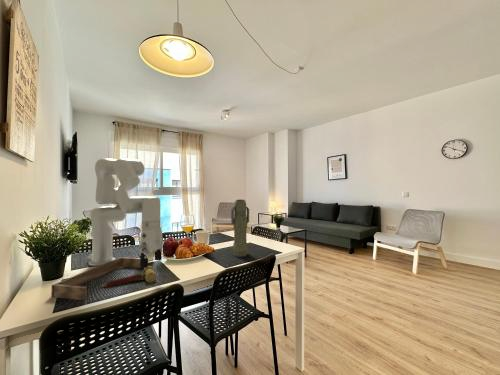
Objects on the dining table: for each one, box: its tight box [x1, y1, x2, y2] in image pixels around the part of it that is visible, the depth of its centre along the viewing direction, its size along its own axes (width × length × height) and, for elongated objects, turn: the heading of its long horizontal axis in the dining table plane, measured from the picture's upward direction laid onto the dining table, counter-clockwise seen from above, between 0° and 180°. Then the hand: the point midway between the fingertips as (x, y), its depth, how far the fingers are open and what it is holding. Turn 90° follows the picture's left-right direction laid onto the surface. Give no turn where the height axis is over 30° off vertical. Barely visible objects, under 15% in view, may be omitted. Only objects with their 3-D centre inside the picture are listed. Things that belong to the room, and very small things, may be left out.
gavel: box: [101, 265, 157, 288], centre depth 97 cm, size 21×5×10 cm
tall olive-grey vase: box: [230, 199, 250, 258], centre depth 138 cm, size 9×12×35 cm
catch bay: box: [50, 256, 141, 301], centre depth 100 cm, size 15×35×4 cm, turn 170°
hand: (151, 263), depth 95 cm, fingers open, 9 cm apart
